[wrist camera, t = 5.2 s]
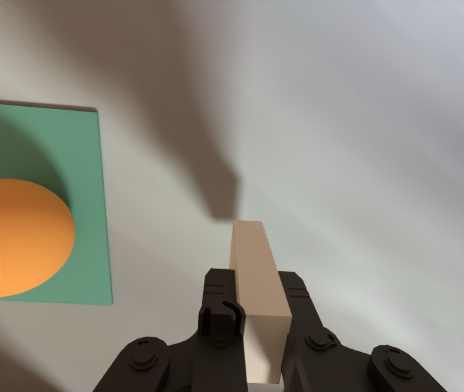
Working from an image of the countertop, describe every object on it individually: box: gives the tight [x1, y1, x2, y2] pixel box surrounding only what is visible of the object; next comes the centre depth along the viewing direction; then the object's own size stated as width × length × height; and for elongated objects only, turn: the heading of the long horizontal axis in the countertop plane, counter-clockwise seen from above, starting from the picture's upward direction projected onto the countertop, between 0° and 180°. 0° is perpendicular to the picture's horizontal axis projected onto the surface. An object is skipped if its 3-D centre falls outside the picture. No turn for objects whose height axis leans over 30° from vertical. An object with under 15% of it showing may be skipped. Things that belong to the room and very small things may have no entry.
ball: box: [0, 179, 75, 297], centre depth 13 cm, size 6×6×6 cm
